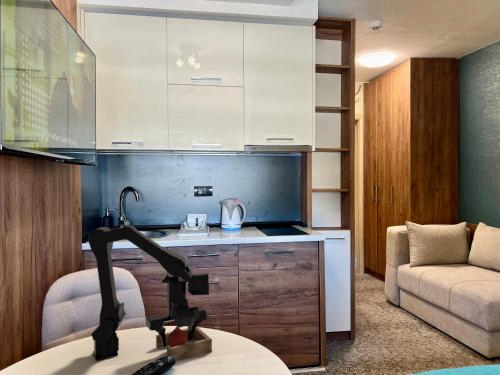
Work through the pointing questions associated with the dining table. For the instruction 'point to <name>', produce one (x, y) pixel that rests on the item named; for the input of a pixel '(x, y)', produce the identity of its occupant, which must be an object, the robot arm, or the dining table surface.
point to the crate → (188, 345)
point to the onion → (177, 337)
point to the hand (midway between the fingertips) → (177, 344)
